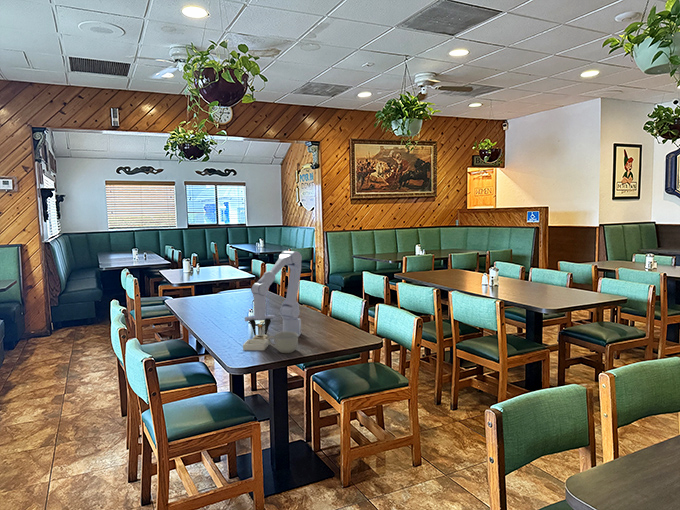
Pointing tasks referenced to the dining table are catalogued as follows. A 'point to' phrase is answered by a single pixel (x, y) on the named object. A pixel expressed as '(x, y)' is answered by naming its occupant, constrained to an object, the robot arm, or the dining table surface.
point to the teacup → (285, 341)
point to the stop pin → (260, 330)
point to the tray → (255, 344)
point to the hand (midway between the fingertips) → (260, 334)
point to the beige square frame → (261, 337)
